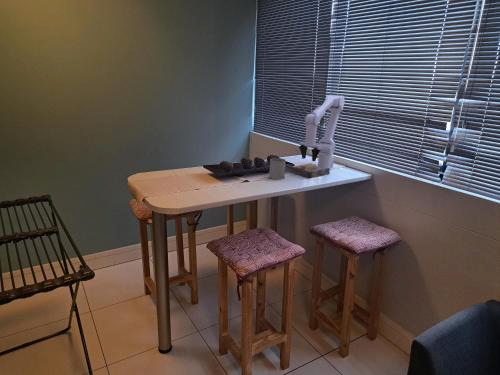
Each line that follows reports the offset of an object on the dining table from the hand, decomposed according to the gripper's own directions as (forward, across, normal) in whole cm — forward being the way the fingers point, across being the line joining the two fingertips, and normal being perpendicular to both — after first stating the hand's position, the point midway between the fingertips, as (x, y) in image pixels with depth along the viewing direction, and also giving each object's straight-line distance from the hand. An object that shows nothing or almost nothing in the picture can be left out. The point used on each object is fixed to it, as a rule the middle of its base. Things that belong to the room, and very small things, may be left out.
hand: (308, 159), depth 196 cm
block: (+8, 0, 0) cm, 8 cm away
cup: (+9, -4, -20) cm, 22 cm away
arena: (+8, -3, +1) cm, 9 cm away
